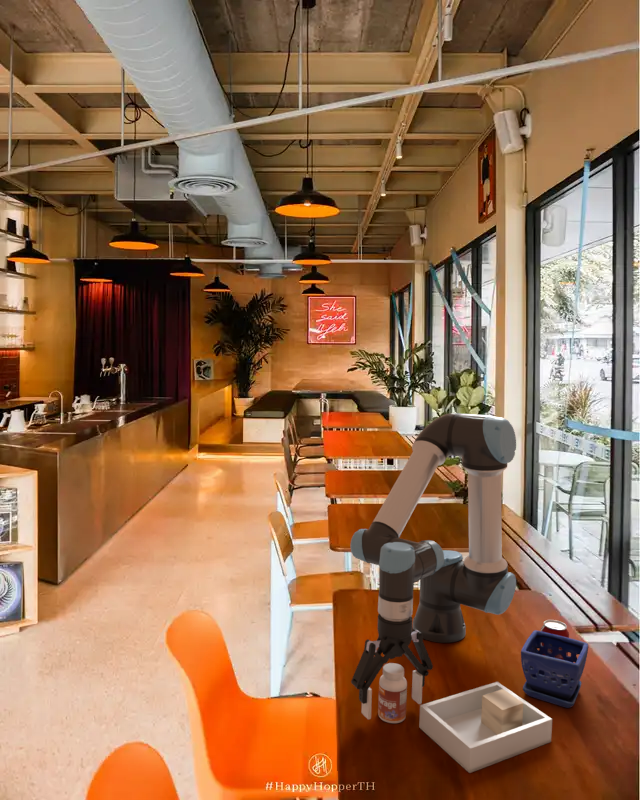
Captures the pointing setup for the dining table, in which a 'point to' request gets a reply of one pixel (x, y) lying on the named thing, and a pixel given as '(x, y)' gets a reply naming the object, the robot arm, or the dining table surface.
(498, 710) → the beech cube
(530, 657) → the flower pot
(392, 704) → the pill bottle
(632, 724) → the dining table surface
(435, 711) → the tote
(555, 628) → the soda can
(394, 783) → the dining table surface
